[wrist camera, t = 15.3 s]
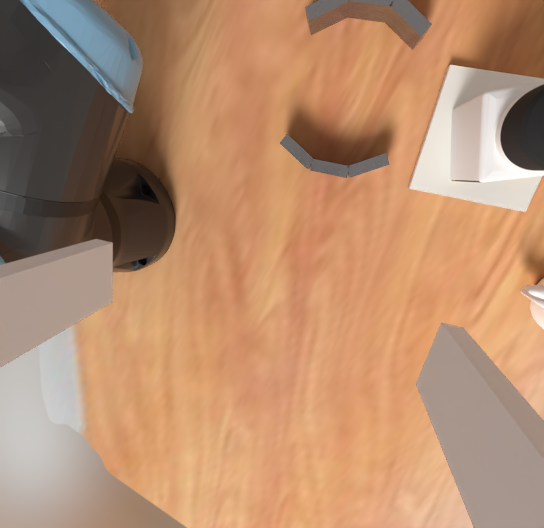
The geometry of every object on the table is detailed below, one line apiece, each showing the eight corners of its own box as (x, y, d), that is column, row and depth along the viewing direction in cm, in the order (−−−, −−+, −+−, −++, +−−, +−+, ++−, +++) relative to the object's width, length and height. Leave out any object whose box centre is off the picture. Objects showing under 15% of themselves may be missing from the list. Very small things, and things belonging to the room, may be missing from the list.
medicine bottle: (449, 181, 32) (512, 184, 21) (450, 109, 30) (521, 69, 19) (526, 172, 30) (640, 170, 19) (533, 95, 29) (664, 42, 17)
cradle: (280, 164, 36) (275, 163, 33) (312, -2, 30) (310, -21, 28) (378, 184, 34) (382, 185, 31) (430, 13, 29) (440, -5, 26)
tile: (407, 188, 34) (409, 188, 33) (447, 67, 30) (450, 64, 29) (520, 211, 32) (525, 212, 31) (578, 87, 28) (584, 84, 28)
